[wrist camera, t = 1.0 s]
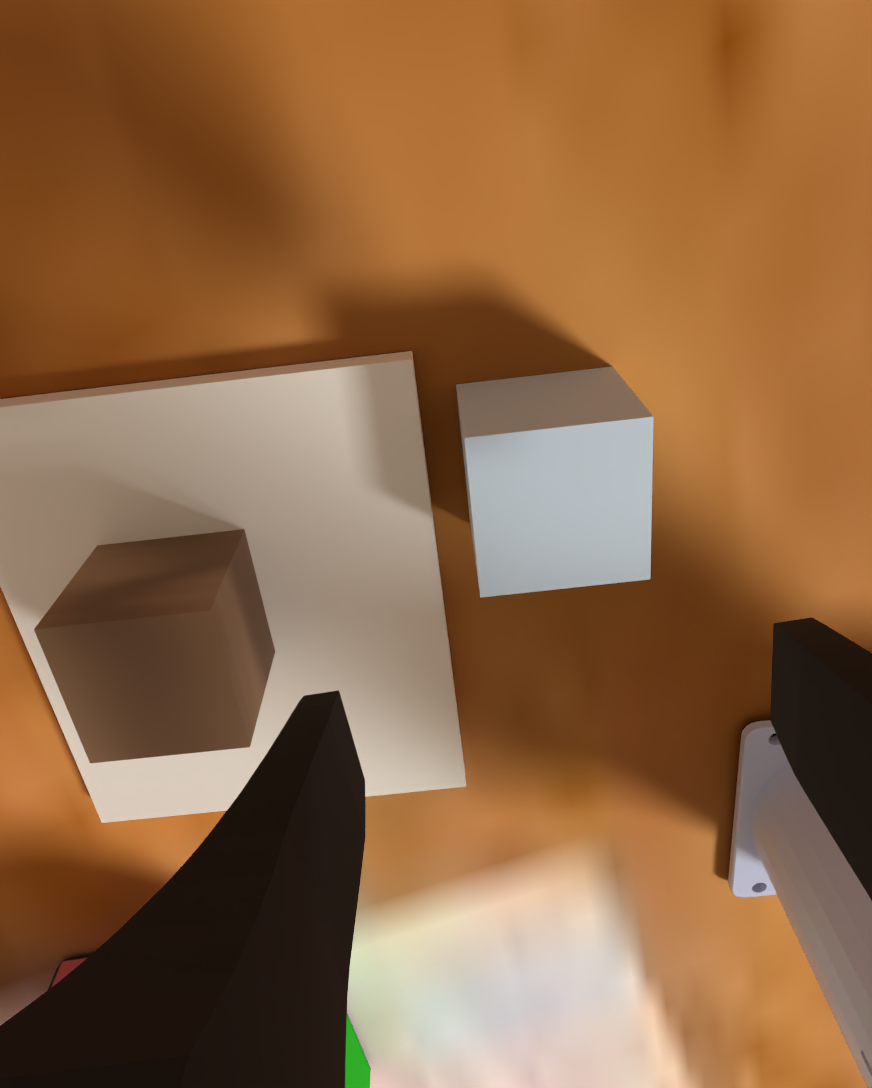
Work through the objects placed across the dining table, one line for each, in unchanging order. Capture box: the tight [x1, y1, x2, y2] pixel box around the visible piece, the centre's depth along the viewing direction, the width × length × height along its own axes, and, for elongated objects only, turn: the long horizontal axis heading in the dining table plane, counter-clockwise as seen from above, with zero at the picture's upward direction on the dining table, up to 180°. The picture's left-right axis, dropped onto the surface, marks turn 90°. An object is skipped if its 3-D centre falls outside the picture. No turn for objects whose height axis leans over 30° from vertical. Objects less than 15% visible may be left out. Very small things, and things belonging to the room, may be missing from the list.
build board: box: [0, 351, 466, 823], centre depth 23 cm, size 12×14×1 cm
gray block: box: [456, 366, 653, 598], centre depth 19 cm, size 4×4×4 cm
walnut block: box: [34, 529, 275, 763], centre depth 20 cm, size 4×4×4 cm
